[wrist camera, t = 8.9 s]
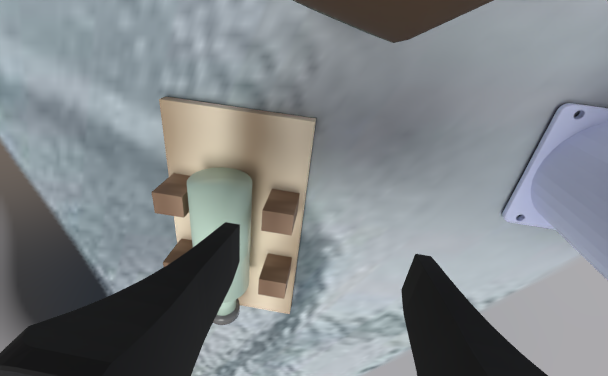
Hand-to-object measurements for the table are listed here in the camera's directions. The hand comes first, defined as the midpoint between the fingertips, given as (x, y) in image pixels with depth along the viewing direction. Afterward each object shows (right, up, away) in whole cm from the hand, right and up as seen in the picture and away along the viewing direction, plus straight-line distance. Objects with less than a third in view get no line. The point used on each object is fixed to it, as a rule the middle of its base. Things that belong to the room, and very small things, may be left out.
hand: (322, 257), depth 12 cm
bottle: (-6, -1, +11) cm, 13 cm away
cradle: (-6, 0, +12) cm, 13 cm away
